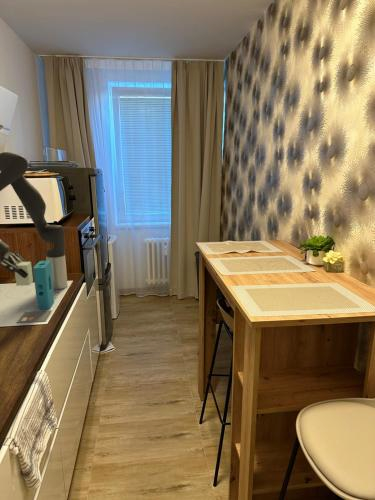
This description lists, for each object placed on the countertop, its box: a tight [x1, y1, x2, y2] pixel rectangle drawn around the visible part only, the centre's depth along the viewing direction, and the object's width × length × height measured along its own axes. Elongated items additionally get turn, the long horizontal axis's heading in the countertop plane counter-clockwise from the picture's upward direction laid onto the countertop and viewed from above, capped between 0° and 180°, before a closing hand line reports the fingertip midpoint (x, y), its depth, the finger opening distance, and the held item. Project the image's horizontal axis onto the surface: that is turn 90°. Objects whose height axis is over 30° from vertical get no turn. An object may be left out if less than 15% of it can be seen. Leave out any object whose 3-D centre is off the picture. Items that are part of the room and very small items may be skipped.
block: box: [32, 260, 55, 311], centre depth 159 cm, size 12×5×20 cm, turn 8°
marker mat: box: [16, 309, 53, 324], centre depth 150 cm, size 11×12×1 cm
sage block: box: [14, 261, 34, 287], centre depth 143 cm, size 5×5×8 cm
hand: (28, 274), depth 143 cm, fingers closed on sage block, 5 cm apart
